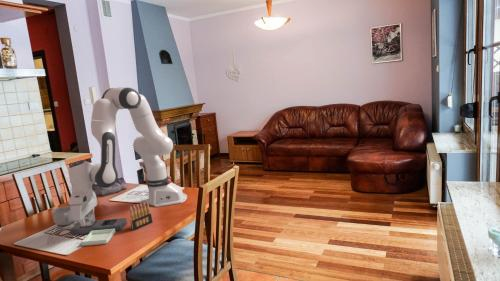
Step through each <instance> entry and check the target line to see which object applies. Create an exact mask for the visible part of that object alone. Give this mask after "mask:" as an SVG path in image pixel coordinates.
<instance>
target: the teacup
mask: <svg viewBox="0 0 500 281" xmlns="http://www.w3.org/2000/svg"><path fill="white" fill-rule="evenodd" d="M70 206H71V205H66V206H60V207H57V208H55V209H53V210H52V211H51V214H52V219H53V222H54V223H55V224H56V225H58V226H59V227H61V226H62V227H63V226H68V225H72V224H73V223H74V220H73V219H72V215H71V210H70Z"/></svg>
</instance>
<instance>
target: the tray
mask: <svg viewBox="0 0 500 281" xmlns="http://www.w3.org/2000/svg"><path fill="white" fill-rule="evenodd" d="M115 234H116V231H115V229H105V230H94V231H91V232H90V233H89V234H86V236H85V237H84V238H83V239H82V241H81V243H80V244H81V247H86V246H98V245H108V243H109V242H110V241H111V239H112V238H113V236H115Z"/></svg>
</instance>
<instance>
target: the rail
mask: <svg viewBox="0 0 500 281" xmlns="http://www.w3.org/2000/svg"><path fill="white" fill-rule="evenodd" d="M95 221H96V223H95V224H94V225H93V226H92V227H83V228H81V224H80V222H79V221H77V222H75V224H74V225H73V226H72V227H71V228H69V232H70V236H77V235H76V234H80V235H88V234H87V233H90V232H91V231H94V230H105V229H115V232H119V231H120V232H121V231H123V229H124V228H125V227H126V225H127V224H128V222H127V217H122V218H109V219H99V220H98V219H97V220H95Z"/></svg>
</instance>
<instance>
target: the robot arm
mask: <svg viewBox="0 0 500 281" xmlns="http://www.w3.org/2000/svg"><path fill="white" fill-rule="evenodd" d="M125 109H127V110H128V111H129V114H130V116H131V117H130V118H131V120H132V123H133V125H134V128H135V130H136V132H138V133H139V134H141V135H140V136H137V137H136V138H134V140H133V143H132V146H133V150H134V151H135V152H136V153H137V154H138V155H139V156H140V159H141V160H142V161H143V164H144V166H145V171H146V178H147V179H146V186H147V190H148V198H147V199H148V200H147V201H148V204H149V205H150V206H153V207H155V208H159V207H167V206H171V205H172V206H173V205H177V204H178V205H179V204H182V203H184V202H185V201H187V199H188V195H187V194H186V193H184V192H183V189H182V187H181V186H179V185H177V184H175V183H174V182H173V181H172V177H171V176H168V173H167V165H166V162H165V161H163V160H162V159H161V156H166V155H169V154H171V153H172V151H173V149H174V142H173V140H172V139H171V138H170V137H169V136H168V135H166V134H165V133H164V132H163V131H162V130H161V128H160V127H159V126H158V124H157V122H156V119H155V117H154V115H153V114H154V113H153V112H152V109H151V106H150V104H149V101H148V99H147V98H146V97H145V95H143V94H141V93H139V92H138V91H137V90H136V89H134V88H131V87H123V86H120V87H119V86H118V87H111V88H108V89H106V90H105V91H104V92H103V94H102V96H101V98H98V99H97V100H96V101H95V102H94V105H93V109H92V112H91V120H90V130H91V131H90V132H91V135H92V136H93V137H94V139H96V141H97V143H98V144H99V146H100V163H97V162H95V163H94V162H89V161H86V160H82V159H81V160H77V161H75V162H72V163H71V164H70V165H69V167H68V178H69V183H70V185H71V195H70V197H69V199H68V202H67V204H68V206H70V210H71V215H72V219H73V220H74V221H75V222H76V221H77V222H80V223H81V226H85V225H86V221H84V217H85V216H86V215H87V214H88V213H94V214H95V207H97V206H98V200H97V199H98V198H97V195H96V194H95V193H94V189H93V185H95V184H98V185H99V186H100V187H103V188H108V187H111V186H113V185H114V184H115V183H116V181H117V179H118V178H119V174H118V170H117V167H116V122H117V113H118V111H119V110H125ZM74 221H73V222H74Z"/></svg>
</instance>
